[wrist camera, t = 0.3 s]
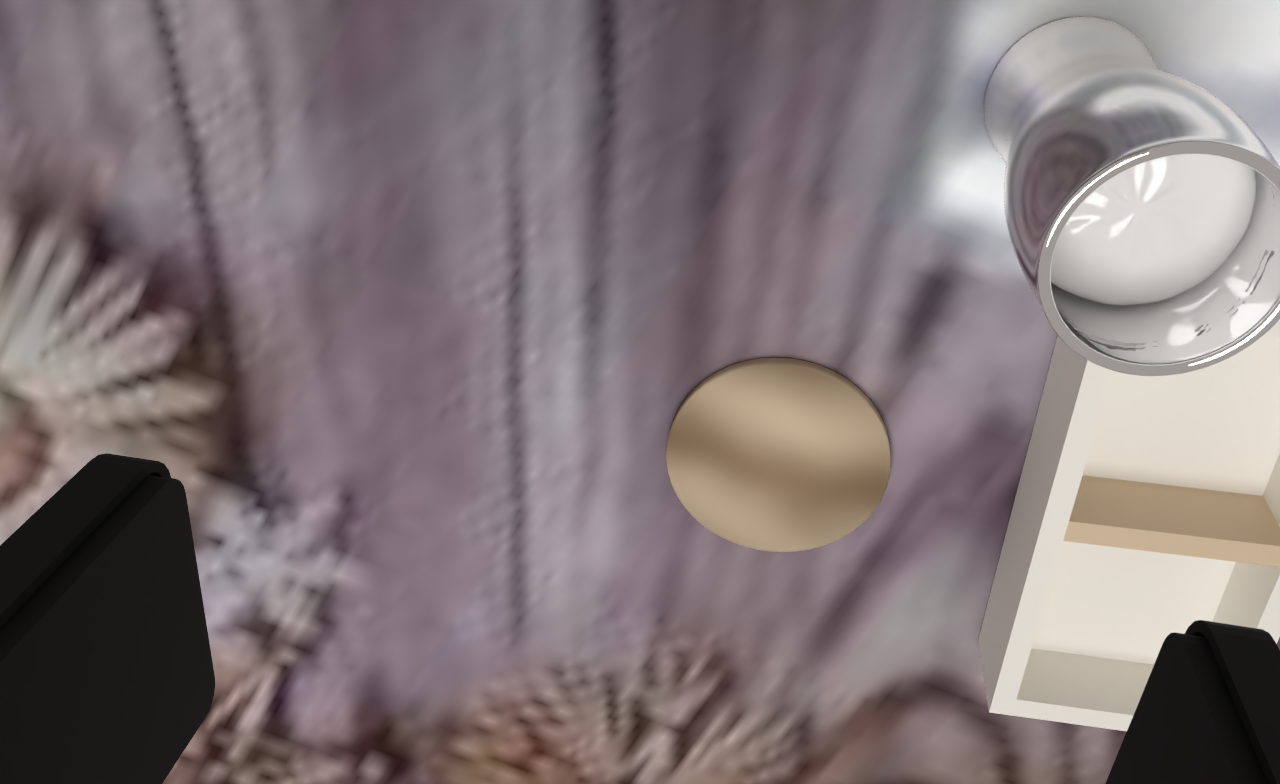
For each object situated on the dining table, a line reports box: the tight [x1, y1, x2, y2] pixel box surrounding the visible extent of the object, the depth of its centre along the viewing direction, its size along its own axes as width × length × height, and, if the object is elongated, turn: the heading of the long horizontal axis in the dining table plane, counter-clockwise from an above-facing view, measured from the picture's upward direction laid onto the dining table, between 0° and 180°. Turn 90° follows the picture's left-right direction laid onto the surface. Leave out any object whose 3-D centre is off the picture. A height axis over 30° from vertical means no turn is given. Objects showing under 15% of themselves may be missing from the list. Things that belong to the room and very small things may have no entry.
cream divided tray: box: [978, 320, 1280, 731], centre depth 47 cm, size 21×10×5 cm, turn 178°
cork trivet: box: [667, 357, 891, 552], centre depth 51 cm, size 10×10×1 cm
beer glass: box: [984, 17, 1280, 376], centre depth 35 cm, size 7×7×15 cm
